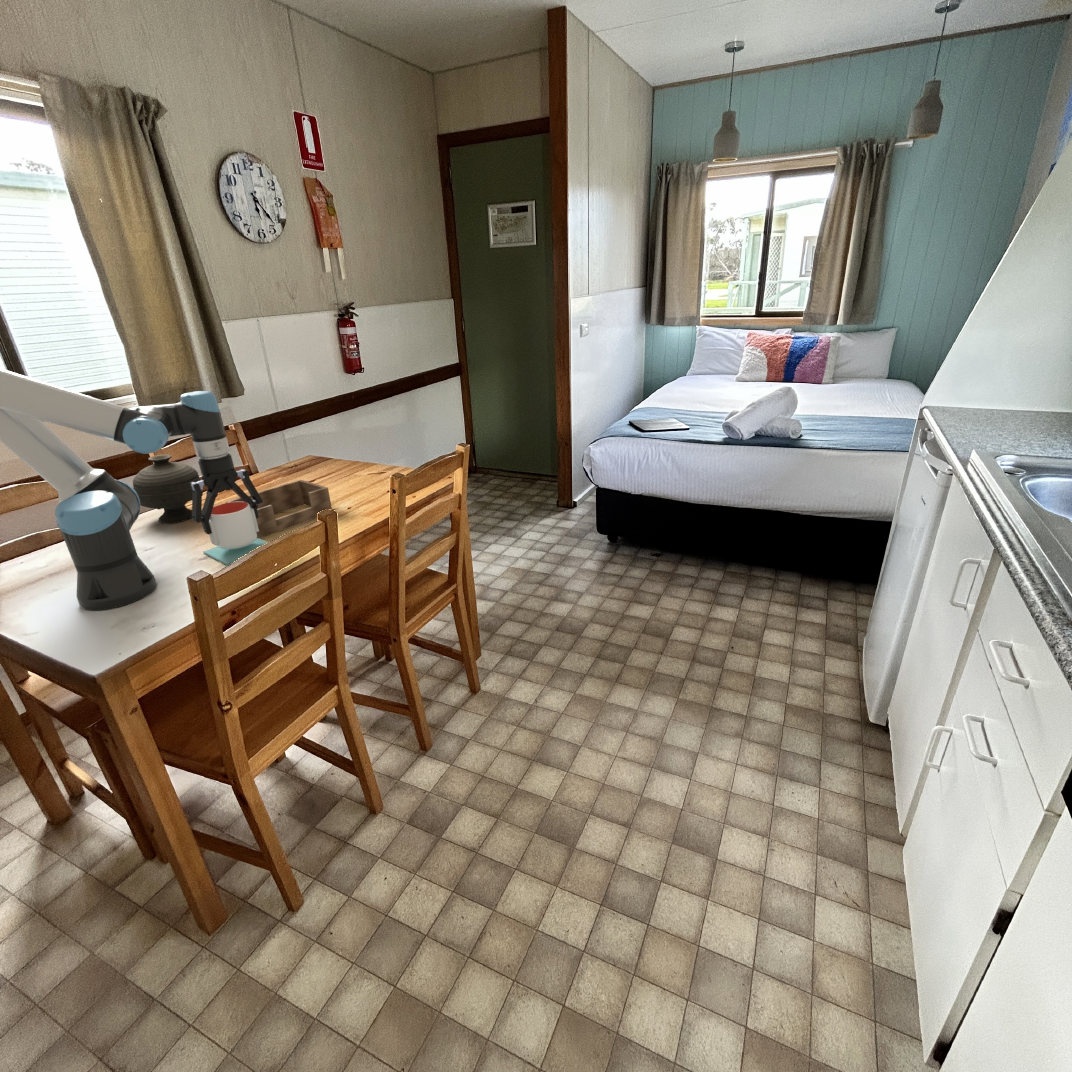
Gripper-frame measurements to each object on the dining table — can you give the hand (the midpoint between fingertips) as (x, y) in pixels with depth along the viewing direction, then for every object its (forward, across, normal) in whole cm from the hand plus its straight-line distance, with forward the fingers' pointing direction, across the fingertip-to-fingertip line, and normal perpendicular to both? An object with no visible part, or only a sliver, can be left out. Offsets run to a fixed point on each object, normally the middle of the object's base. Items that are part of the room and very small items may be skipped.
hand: (235, 537), depth 154 cm
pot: (+4, +2, +42) cm, 42 cm away
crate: (+4, +19, +11) cm, 22 cm away
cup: (+2, 0, 0) cm, 2 cm away
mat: (+4, 0, 0) cm, 4 cm away
